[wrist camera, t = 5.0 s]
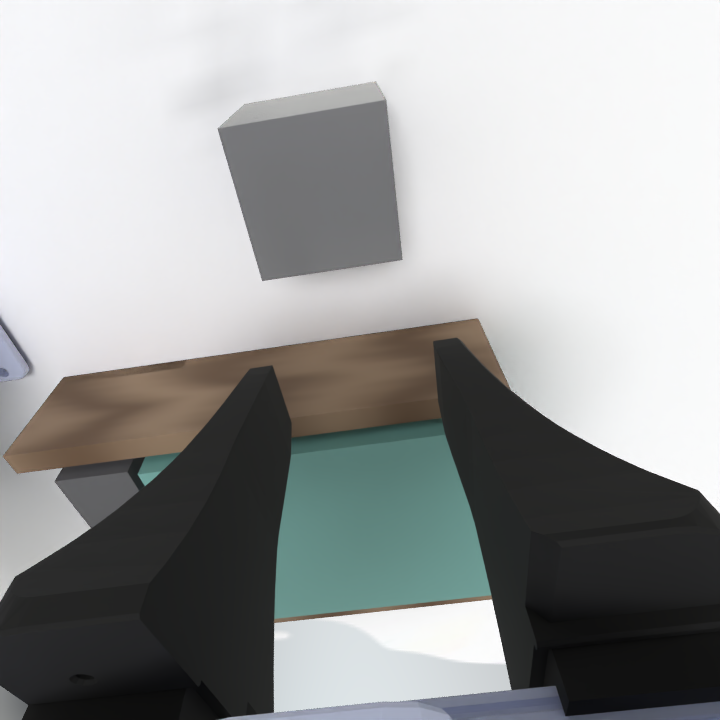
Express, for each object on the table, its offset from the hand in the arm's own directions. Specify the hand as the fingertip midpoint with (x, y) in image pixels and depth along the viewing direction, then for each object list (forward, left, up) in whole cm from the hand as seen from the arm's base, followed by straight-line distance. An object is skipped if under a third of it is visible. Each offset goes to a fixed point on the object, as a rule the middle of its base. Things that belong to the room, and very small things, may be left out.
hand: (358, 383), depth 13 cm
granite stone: (-1, +4, -9) cm, 9 cm away
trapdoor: (-4, -11, -6) cm, 13 cm away
